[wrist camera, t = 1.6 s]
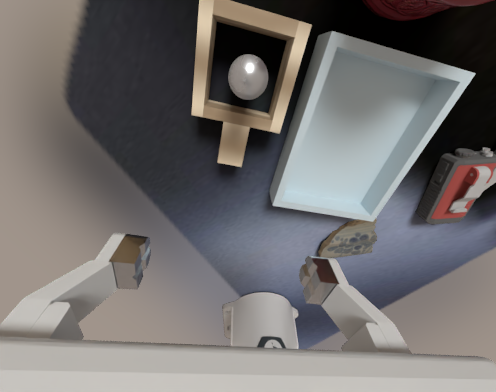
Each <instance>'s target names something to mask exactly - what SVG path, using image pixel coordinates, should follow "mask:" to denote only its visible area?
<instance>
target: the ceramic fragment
mask: <svg viewBox="0 0 496 392" xmlns="http://www.w3.org/2000/svg"><path fill="white" fill-rule="evenodd" d="M375 223H376V218H375V220H374V221H373V222H371V221H365V220H359V219H357V220H353V221H350V222H347V223H346V224H344V225H342V226H340V227H339V229H337V230H335V231H333V232H332V233H331V234H330V236H329V237H328V238H327V239H326V240H325V241H324V242H323V243H322V245H321V247H320V249H319V251H318V253H319V257H324V258H335V257H344V256H351V255H358V254H365V253H371V252H372V248H373V247H372V245H373V244H374V243H375V242H376V241H377V240H376V238H377V236H376V233H375V232H374V229H375Z"/></svg>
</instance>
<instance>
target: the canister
mask: <svg viewBox="0 0 496 392" xmlns="http://www.w3.org/2000/svg"><path fill="white" fill-rule="evenodd" d="M490 1H493V0H362V2H363V3H364V4H365V6H366V7H367V8H368V9H369V10H370V11H372V12H373V13H374V14H376V15H378V16H380V17H383V18H386V19H391V20H397V21H409V20H414V19H419V18H423V17H426V16H429V15H432V14H434V13H436V12H438V11H442V10H446V9H450V8H454V7H458V6H474V5H480V4H483V3H487V2H490Z"/></svg>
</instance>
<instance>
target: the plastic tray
mask: <svg viewBox="0 0 496 392" xmlns="http://www.w3.org/2000/svg"><path fill="white" fill-rule="evenodd" d="M475 74H476V73H472V72H469V71H466V70H462V69H459V68H455V67H452V66H449V65H445V64H442V63H439V62H435V61H432V60H429V59H425V58H422V57H418V56H415V55H412V54H408V53H405V52H402V51H398V50H395V49H392V48H388V47H385V46H381V45H378V44H375V43H371V42H368V41H365V40H361V39H358V38H355V37H351V36H348V35H344V34H341V33H338V32H334V31H330V32H327V33H324V34H321V35H318V38H317V41H316V45H315V48H314V51H313V54H312V57H311V60H310V64H309V67H308V70H307V73H306V76H305V79H304V83H303V86H302V89H301V92H300V95H299V98H298V101H297V105H296V108H295V111H294V114H293V117H292V120H291V124H290V127H289V130H288V133H287V136H286V139H285V143H284V146H283V149H282V152H281V155H280V158H279V161H278V165H277V168H276V171H275V174H274V177H273V180H272V184H271V187H270V190H269V192H270V197H271V201H272V206H277V207H284V208H290V209H296V210H302V211H309V212H315V213H321V214H327V215H334V216H340V217H346V218H352V219H359V220H365V221H371V222H373V221H374V220H375V218H376V217H377V216H378V214H379V213H380V211H381V210H382V208H383V207H384V205H385V204H386V203H387V201H388V200H389V198H390V197H391V195H392V194H393V192H394V191H395V190H396V188H397V187H398V185H399V184H400V182H401V181H402V179H403V178H404V177H405V175H406V174H407V172H408V171H409V169H410V168H411V166H412V165H413V164H414V162H415V161H416V159H417V158H418V156H419V155H420V153H421V152H422V151H423V149H424V148H425V146H426V145H427V143H428V142H429V140H430V139H431V137H432V136H433V135H434V133H435V132H436V130H437V129H438V127H439V126H440V124H441V123H442V122H443V120H444V119H445V117H446V116H447V114H448V113H449V111H450V110H451V109H452V107H453V106H454V104H455V103H456V101H457V100H458V98H459V97H460V96H461V94H462V93H463V91H464V90H465V88H466V87H467V85H468V84H469V83H470V81H471V80H472V78H473V77H474V75H475Z"/></svg>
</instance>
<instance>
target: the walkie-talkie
mask: <svg viewBox="0 0 496 392" xmlns="http://www.w3.org/2000/svg"><path fill="white" fill-rule="evenodd" d="M495 182H496V150H495V151H494V153H493V152H492V151H490V148H482V150H480V151H476V152H474V151H473V150H470V149H463V148H460V149H456V150H455V152H454V153H449V154H444V155H443V156H441V158H440V160H439V163H438V165H437V167H436V169H435V171H434V173H433V176H432V178H431V180H430V183H429V184H428V187H427V190H426V192H425V193H424V196H423V198H422V200H421V201H420V202H421V203H420V204H419V206H418V209H417V211H416V213H417V214H418V215H419V216H420V217H422V218H423V219H424V220H425V221H426V222H427V223H429V224H443V223H457V222H460V221H461V220H462V219H463V218H464V217H465V215H466V214H467V212H468V211H469V209H470V208H471V206H472V204H473V203H474V201H475V200H476V198H478V197H479V196H480V195H481V193H482V192H483V191H484V190H485V189H487V188H488V187H490V186H491V185H492V184H494V183H495Z"/></svg>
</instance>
